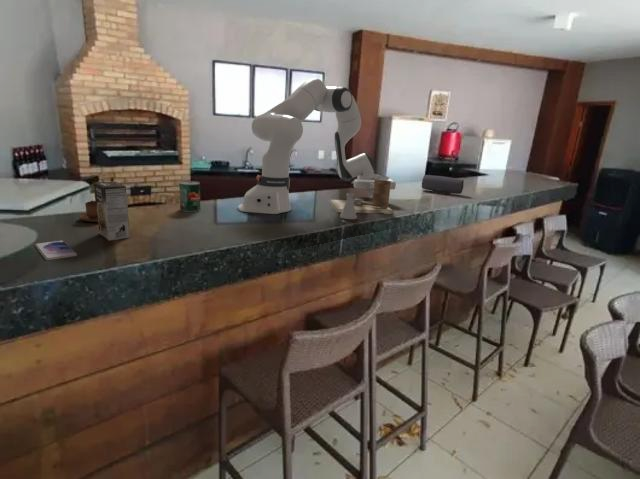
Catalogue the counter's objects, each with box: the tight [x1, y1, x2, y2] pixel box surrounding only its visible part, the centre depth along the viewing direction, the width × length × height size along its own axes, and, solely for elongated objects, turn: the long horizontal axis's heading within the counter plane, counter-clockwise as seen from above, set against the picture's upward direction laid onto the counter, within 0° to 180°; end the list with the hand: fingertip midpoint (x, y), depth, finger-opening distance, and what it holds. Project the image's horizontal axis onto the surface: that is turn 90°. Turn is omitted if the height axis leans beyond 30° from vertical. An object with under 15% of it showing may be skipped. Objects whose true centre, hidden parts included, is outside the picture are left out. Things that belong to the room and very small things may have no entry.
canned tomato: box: [178, 180, 201, 213], centre depth 159 cm, size 8×8×11 cm
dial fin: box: [353, 179, 391, 208], centre depth 177 cm, size 16×4×12 cm, turn 69°
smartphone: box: [34, 240, 78, 261], centre depth 107 cm, size 7×1×15 cm
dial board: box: [329, 199, 394, 215], centre depth 182 cm, size 25×20×2 cm
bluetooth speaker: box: [421, 174, 465, 195], centre depth 236 cm, size 23×9×10 cm, turn 58°
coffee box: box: [93, 181, 131, 242], centre depth 120 cm, size 9×6×16 cm
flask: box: [339, 192, 358, 220], centre depth 161 cm, size 7×7×10 cm
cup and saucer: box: [78, 200, 98, 223], centre depth 137 cm, size 12×12×6 cm
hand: (378, 187), depth 185 cm, fingers closed
